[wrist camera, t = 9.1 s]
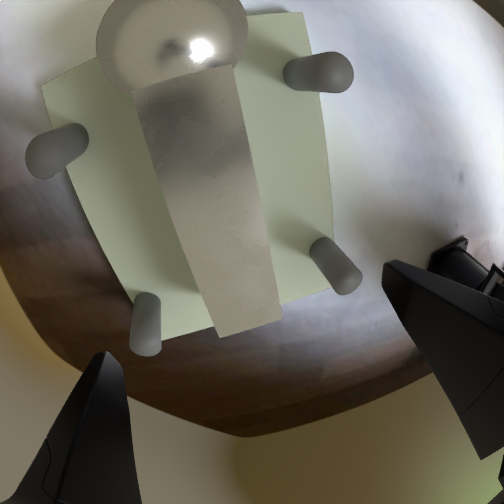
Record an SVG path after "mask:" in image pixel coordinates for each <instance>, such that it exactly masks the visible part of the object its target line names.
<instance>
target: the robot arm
mask: <svg viewBox="0 0 504 504" xmlns="http://www.w3.org/2000/svg"><path fill="white" fill-rule="evenodd" d="M467 245H468V239H466V238H463V239H461V240H459V241H457V242H455V243H453V244H451V245H449V246H447V247H445V248H443V249H440V250H438V251H436V252H434V253H433V254H432V256H431V260H430V264H429V269H428V271H426V270H423V269H421V268H418V267H415V266H413V265H410V264H407V263H405V262H402V261H399V260H396V259H393V260H391V261H388V262H386V263H385V264H384V265H383V273H382V281H381V283H382V288H383V290H384V292H385V294H386V295H387V297H388V299H389V301H390V303H391V304H392V306H393V308H394V310H395V312H396V314H397V315H398V317H399V319H400V321H401V323H402V325H403V326H404V328H405V329H406V331H407V332H408V334H409V335H410V337H411V338H412V340H413V341H414V343H415V344H416V346H417V348H418V349H419V351H420V352H421V354H422V355H423V357H424V359H425V360H426V362H427V363H428V365H429V367H430V368H431V370H432V371H433V373H434V375H435V376H436V378H437V380H438V381H439V383H440V385H441V386H442V388H443V390H444V392H445V393H446V395H447V397H448V399H449V400H450V402H451V404H452V406H453V407H454V409H455V411H456V413H457V415H458V416H459V419H460V421H461V423H462V424H463V426H464V428H465V430H466V432H467V434H468V436H469V438H470V440H471V442H472V444H473V446H474V448H475V450H476V452H477V454H478V456H479V458H480V460H482V459H484V458H486V457H488V456H489V455H491V454H493V453H494V452H496V451H497V450H499V449H501V448H502V447H504V283H503V284H502V285H501V282H502V280H503V279H504V270H503V269H501V268H500V267H498V266H497V265H496V264H494V263H493V265H492V266H491V270H490V271H489V270H488V269H487V268H485V267H484V266H483V265H482V264H481V263H480V262H478V261H477V260H476V259H475V258H474V257H472V256H471V255H470V254H469V253H467V252H466V249H467ZM498 479H499V481H500V483H501V485H502V487H503V490H502V491H501V492H500V493H499V494H498V495H496V497H494V498H493V499H492V500H491V501H490V502H489V503H488V504H504V455H503V460H502V465H501V469H500V473H499V477H498ZM0 504H142V501H141V496H140V490H139V485H138V479H137V473H136V467H135V459H134V452H133V443H132V434H131V424H130V413H129V407H128V401H127V395H126V389H125V382H124V375H123V370H122V367H121V365H120V364H119V363H118V362H117V361H116V360H115V358H114V357H113V356H112V355H111V354H110V353H109V352H108V351H102V352H98V353H96V354H95V355H94V356H93V358H92V360H91V361H90V363H89V364H88V366H87V368H86V369H85V371H84V372H83V374H82V376H81V377H80V379H79V381H78V382H77V384H76V385H75V387H74V389H73V390H72V392H71V394H70V396H69V397H68V399H67V401H66V402H65V404H64V406H63V407H62V409H61V411H60V413H59V415H58V416H57V418H56V420H55V422H54V424H53V425H52V427H51V429H50V431H49V433H48V434H47V438H46V439H45V440H44V442H43V444H42V446H41V448H40V450H39V451H38V453H37V455H36V457H35V459H34V460H33V462H32V464H31V466H30V467H29V469H28V471H27V472H26V474H25V476H24V477H23V479H22V481H21V482H20V484H19V486H18V488H17V489H16V491H15V493H14V494H13V495H12V496H11V497H10V498H9V499H7V500H5V501H3V502H1V503H0Z"/></svg>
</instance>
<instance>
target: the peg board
mask: <svg viewBox="0 0 504 504" xmlns="http://www.w3.org/2000/svg"><path fill="white" fill-rule="evenodd" d="M246 17H247V22H248V37H247V43H246V46H245V49H244V52H243V54H242V56H241V58H240V60H239V61H238V63H237V65H236V66H235V67H234V69H233V72H234V76H235V81H236V85H237V90H238V94H239V99H240V104H241V108H242V113H243V117H244V122H245V127H246V132H247V136H248V141H249V146H250V151H251V156H252V160H253V165H254V170H255V175H256V180H257V185H258V190H259V195H260V200H261V205H262V210H263V215H264V220H265V226H266V231H267V236H268V241H269V247H270V252H271V257H272V262H273V268H274V273H275V279H276V284H277V289H278V295H279V300H280V305H282V304H285V303H288V302H291V301H294V300H297V299H300V298H303V297H306V296H308V295H311V294H314V293H317V292H320V291H322V290H325V289H328V288H331V287H333V289H334V290H335V292H336V293H337V294H339V295H347V294H349V293H351V292H353V291H354V290H355V289H357V287H358V286H359V285H360V283H361V281H362V273H361V271H360V270H359V269H358V268H357V267H356V266H355V265H354V264H353V262H352V261H351V260H350V259H349V258H348V257H347V256H346V255H345V254H344V252H343V251H342V250H341V249H340V248H339V247H338V246H337V245H336V244H335V243H334V232H333V215H332V200H331V188H330V176H329V166H328V157H327V148H326V139H325V131H324V124H323V116H322V110H321V103H320V96H319V92H327V93H341V92H344V91H346V90H347V89H348V88H349V87H350V86H351V84H352V82H353V77H354V72H353V68H352V65H351V63H350V62H349V60H348V59H347V58H346V57H345V56H343V55H342V54H340V53H337V52H325V53H320V54H315V55H312V52H311V47H310V42H309V38H308V33H307V29H306V24H305V20H304V16H303V12H289V13H271V14H260V15H250V16H246ZM41 89H42V93H43V97H44V101H45V105H46V108H47V112H48V115H49V119H50V122H51V125H52V128H53V130H51V131H49V132H46V133H43V134H41V135H38V136H36V137H35V138H34V139H33V140H32V141H31V142H30V143H29V145H28V147H27V150H26V155H25V159H26V165H27V168H28V170H29V171H30V173H31V174H32V175H33V176H35V177H36V178H39V179H48V178H51V177H52V176H54V175H55V174H56V173H58V172H59V171H60V170H61V169H63V168H64V167H65V166H66V169H67V171H68V174H69V176H70V179H71V181H72V184H73V186H74V189H75V191H76V193H77V196H78V198H79V200H80V203H81V205H82V207H83V209H84V212H85V214H86V216H87V218H88V220H89V222H90V225H91V227H92V229H93V231H94V233H95V235H96V237H97V239H98V241H99V243H100V245H101V247H102V249H103V251H104V253H105V255H106V257H107V259H108V260H109V262H110V264H111V266H112V268H113V270H114V271H115V273H116V275H117V277H118V279H119V280H120V282H121V284H122V286H123V287H124V289H125V291H126V293H127V294H128V296H129V298H130V299H131V301H132V303H133V312H132V321H131V331H130V342H129V346H130V348H131V350H132V351H133V352H134V353H136V354H138V355H141V356H153V355H156V354H157V353H159V352H160V350H161V340H165V339H169V338H173V337H176V336H180V335H184V334H187V333H191V332H194V331H198V330H202V329H205V328H208V327H212V326H214V324H213V322H212V319H211V317H210V315H209V312H208V310H207V308H206V305H205V303H204V301H203V298H202V296H201V293H200V291H199V289H198V286H197V284H196V281H195V279H194V276H193V274H192V271H191V269H190V266H189V264H188V261H187V259H186V256H185V253H184V251H183V248H182V246H181V243H180V240H179V238H178V235H177V232H176V229H175V227H174V224H173V221H172V219H171V216H170V213H169V210H168V207H167V204H166V202H165V199H164V196H163V193H162V190H161V187H160V184H159V181H158V178H157V175H156V172H155V169H154V166H153V163H152V160H151V157H150V153H149V150H148V147H147V144H146V140H145V137H144V134H143V130H142V127H141V124H140V120H139V117H138V113H137V110H136V106H135V103H134V99H133V97H132V96H129V95H128V94H126V93H124V92H122V91H121V90H119V89H118V88H117V87H115V86H114V85H113V84H112V83H111V82H110V81H109V80H108V79H107V77H106V76H105V74H104V73H103V71H102V69H101V67H100V65H99V62H98V58H97V57H96V58H94V59H92V60H90V61H87V62H85V63H83V64H81V65H79V66H77V67H75V68H73V69H71V70H69V71H67V72H65V73H64V74H62V75H60V76H58V77H56V78H54V79H53V80H51V81H49V82H47V83H46V84H44V85H42V86H41Z"/></svg>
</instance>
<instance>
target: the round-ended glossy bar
mask: <svg viewBox="0 0 504 504" xmlns="http://www.w3.org/2000/svg"><path fill="white" fill-rule="evenodd" d="M247 37H248V22H247V17H246V14H245V10H244V8H243V6H242V4H241V2H240V1H239V0H115V1H114V2H113V3H112V5H111V6H110V7H109V9H108V10H107V12H106V13H105V15H104V17H103V19H102V21H101V23H100V26H99V29H98V32H97V38H96V53H97V58H98V62H99V65H100V67H101V69H102V71H103V73H104V74H105V76H106V77H107V79H108V80H109V81H110V82H111V83H112V84H113V85H114V86H115V87H117V88H118V89H119V90H121V91H122V92H124V93H126V94H128V95H129V96H132V97H133V99H134V103H135V106H136V110H137V113H138V117H139V120H140V124H141V127H142V130H143V134H144V137H145V140H146V144H147V147H148V150H149V153H150V157H151V160H152V163H153V166H154V169H155V172H156V175H157V178H158V181H159V184H160V187H161V190H162V193H163V196H164V199H165V202H166V204H167V207H168V210H169V213H170V216H171V219H172V221H173V224H174V227H175V229H176V232H177V235H178V238H179V240H180V243H181V246H182V248H183V251H184V253H185V256H186V259H187V261H188V264H189V266H190V269H191V271H192V274H193V276H194V279H195V281H196V284H197V286H198V289H199V291H200V293H201V296H202V298H203V301H204V303H205V305H206V308H207V310H208V312H209V315H210V317H211V319H212V322H213V324H214V326H215V329H216V331H217V333H218V335H219V338H222V337H225V336H229V335H232V334H236V333H239V332H242V331H245V330H249V329H252V328H255V327H258V326H262V325H265V324H268V323H271V322H274V321H277V320H280V319H283V317H282V312H281V306H280V300H279V295H278V289H277V284H276V279H275V273H274V268H273V262H272V257H271V252H270V247H269V241H268V236H267V231H266V226H265V220H264V215H263V210H262V205H261V200H260V195H259V190H258V185H257V180H256V175H255V170H254V165H253V160H252V156H251V151H250V146H249V141H248V136H247V132H246V127H245V122H244V117H243V113H242V108H241V104H240V99H239V94H238V90H237V85H236V81H235V76H234V72H233V69H234V67H235V66H236V65H237V63H238V61H239V60H240V58H241V56H242V54H243V52H244V49H245V46H246V43H247Z"/></svg>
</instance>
